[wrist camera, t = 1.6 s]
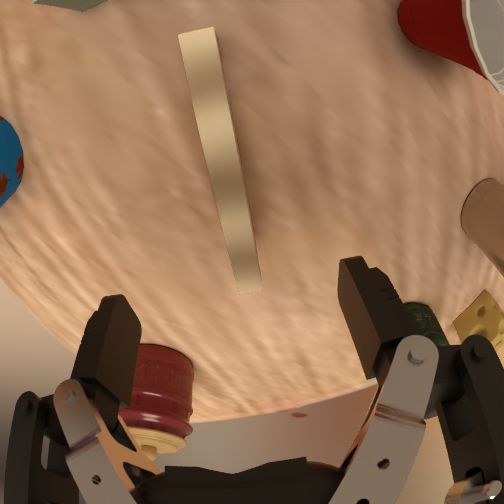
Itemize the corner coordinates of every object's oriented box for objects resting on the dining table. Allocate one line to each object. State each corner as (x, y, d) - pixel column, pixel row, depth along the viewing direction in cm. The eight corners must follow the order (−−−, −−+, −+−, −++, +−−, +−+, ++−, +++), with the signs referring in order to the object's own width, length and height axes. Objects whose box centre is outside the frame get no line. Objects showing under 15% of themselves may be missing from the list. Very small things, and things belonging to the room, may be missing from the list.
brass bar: (193, 43, 18) (178, 34, 12) (217, 38, 18) (213, 26, 12) (236, 239, 31) (239, 294, 24) (254, 236, 31) (262, 290, 24)
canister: (105, 347, 42) (86, 445, 28) (171, 336, 40) (161, 451, 26) (146, 383, 49) (138, 466, 36) (206, 375, 48) (207, 468, 34)
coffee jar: (374, 330, 44) (410, 429, 29) (403, 297, 40) (453, 402, 25) (409, 334, 47) (445, 419, 32) (436, 305, 42) (481, 393, 28)
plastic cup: (432, 94, 21) (519, 131, 12) (354, 21, 17) (441, 10, 8) (472, 32, 16) (556, 50, 7) (404, -41, 12) (488, -60, 3)
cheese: (484, 288, 42) (509, 325, 34) (496, 300, 46) (517, 333, 38) (449, 323, 47) (470, 361, 39) (465, 330, 51) (483, 364, 43)
